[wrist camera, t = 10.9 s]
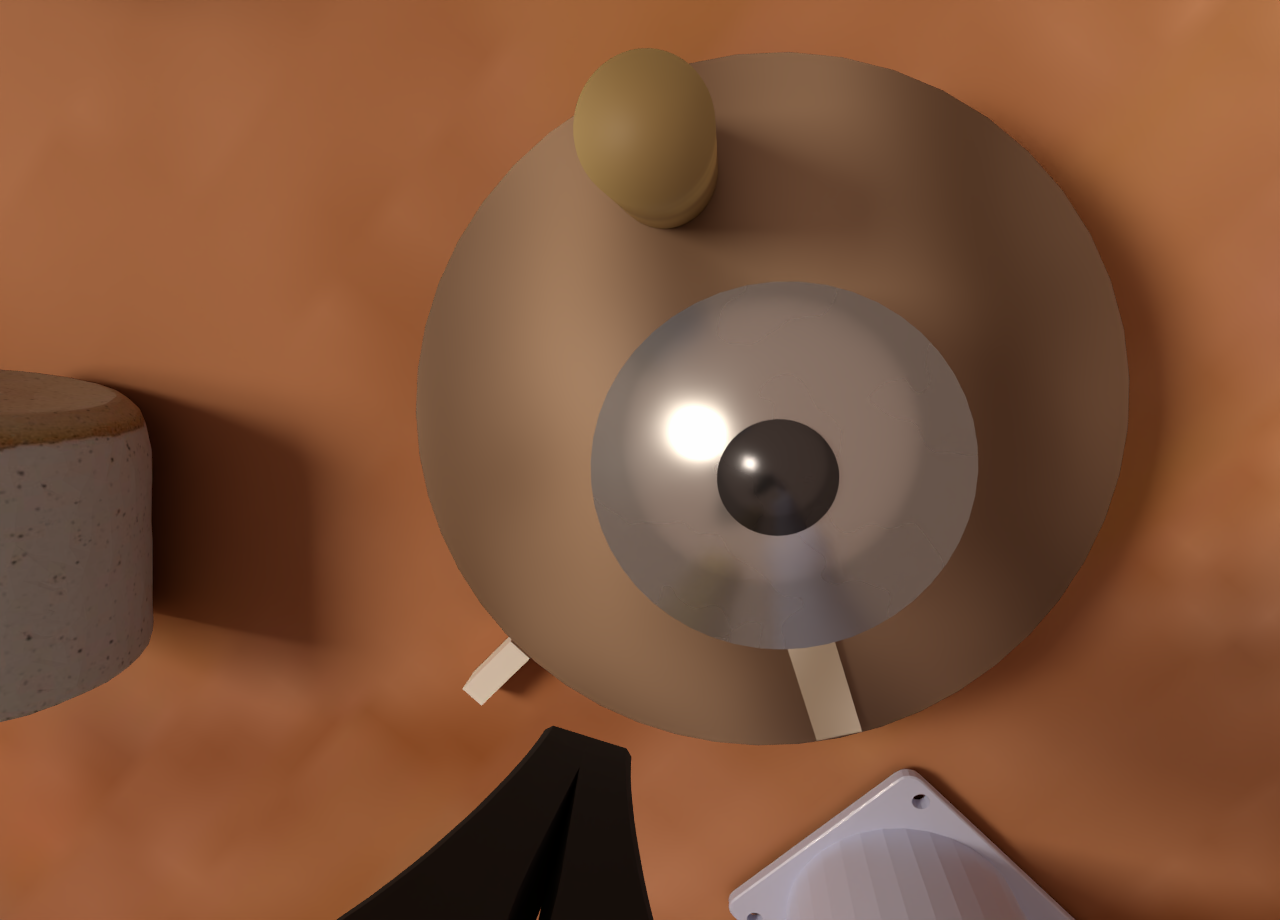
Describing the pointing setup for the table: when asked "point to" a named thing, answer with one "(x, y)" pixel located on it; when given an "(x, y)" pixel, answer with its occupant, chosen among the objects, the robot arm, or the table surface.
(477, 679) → the pointer
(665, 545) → the cover
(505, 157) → the table surface
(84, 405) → the ceramic mug
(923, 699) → the tan bowl
